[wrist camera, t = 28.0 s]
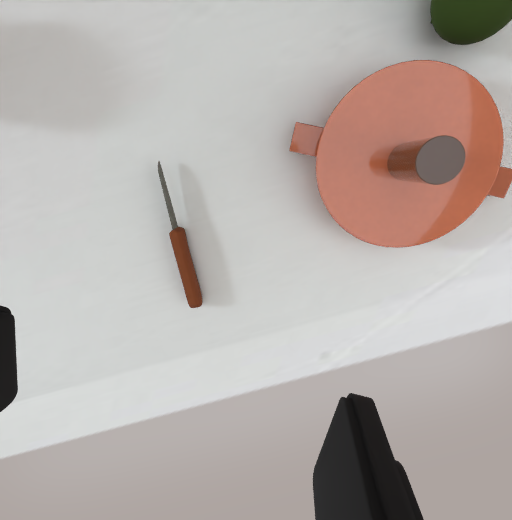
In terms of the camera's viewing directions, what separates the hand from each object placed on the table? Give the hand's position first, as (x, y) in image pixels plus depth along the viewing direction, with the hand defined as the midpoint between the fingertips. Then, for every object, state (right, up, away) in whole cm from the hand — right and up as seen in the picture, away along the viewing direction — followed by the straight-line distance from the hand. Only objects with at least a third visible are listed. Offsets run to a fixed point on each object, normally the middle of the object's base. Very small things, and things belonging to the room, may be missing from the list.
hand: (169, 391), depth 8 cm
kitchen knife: (-6, +6, +24) cm, 26 cm away
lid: (+15, +12, +17) cm, 26 cm away
